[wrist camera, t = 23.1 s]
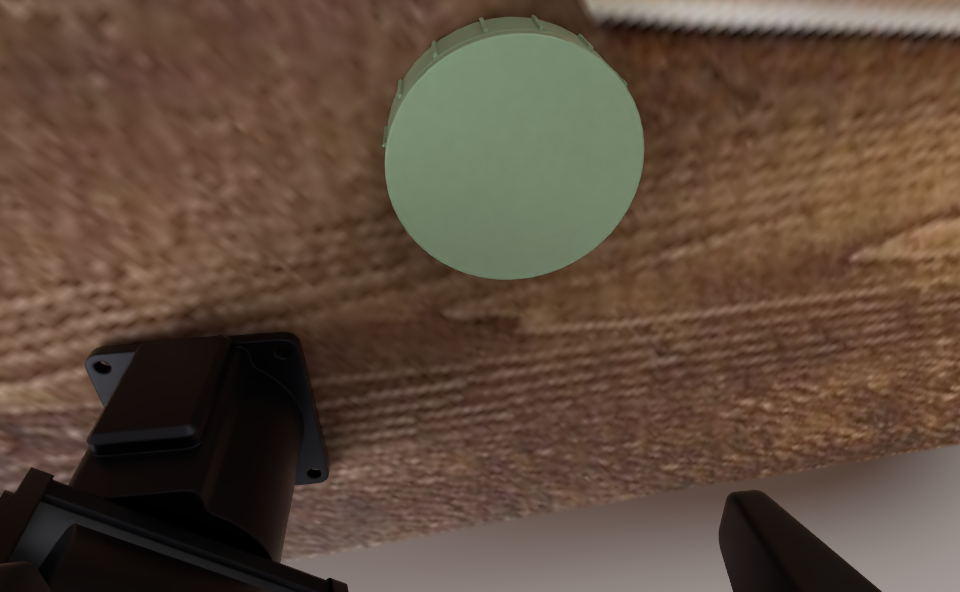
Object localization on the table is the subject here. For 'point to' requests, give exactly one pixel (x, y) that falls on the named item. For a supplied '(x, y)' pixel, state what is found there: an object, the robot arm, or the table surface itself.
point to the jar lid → (512, 149)
